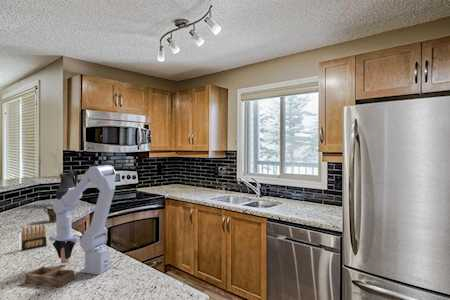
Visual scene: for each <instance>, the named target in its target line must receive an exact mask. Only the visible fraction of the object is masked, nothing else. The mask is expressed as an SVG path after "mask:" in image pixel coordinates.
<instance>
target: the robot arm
mask: <svg viewBox="0 0 450 300" xmlns="http://www.w3.org/2000/svg"><path fill="white" fill-rule="evenodd" d="M116 176H117V172H116V170H115V168H114V167H113V166H112V165H111V164H105V165H97V166H95V165H94V166H90V167H89V168H88V170H85V175H84V176H83V177H82V178H81V180H80V181H79V182H77V184H76V187H73V188H69V189H68V192H67V193H66V194H65V195H64V196H62V198H61V199H60V200H58V199H56V200H55V201H54V202H53V204H52V206H53V210H54V212H55V213H56V222H55V224H56V234H52V235H49V236H48V241H54V242H53V243H52V246H53V247H54V249H55V251H56V253H57V256H58V259H61V248H64V250H65V258H66V259H68V258H69V259H71V256H72V252H73V250H74V247H75V245H76V244H78V243H79V246H80V247H81V249H82V250H83V252H84V268H83V269H81V270H80V271H79V272H80V273H82V274H84V273H85V274H92V275H101V274H103V273H104V272H106V271H107V270H109V269H111V268H112V265H111V253H110V250H109V249H106V248H104V247H105V244H106V243H107V241H108V231H109V230H108V228H106V227H105V226H106V223H107V219H108V216H109V213H110V209H111V205H112V202H113V198H114V195H115V191H116V182H115V179H116ZM92 184H93V186H95V187H96V189H97V190H98V191H99V193H98V197H97V200H96V205H95V207H94V211H93V215H92V218H91V222H90V225H89V227H88V228H87V229H86V230H85V231H83V233H84V235H83V237H82V238H81V239H80V237H76V236H73V234H72V233H73V232H72V231H73V230H72V215H73V211H74V208H75V204H77V202H78V201H79V200H80V199H81V198H82V197H83V192H84V191H86V190H87V189H88V187H90V186H91V185H92Z"/></svg>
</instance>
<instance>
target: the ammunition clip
mask: <svg viewBox="0 0 450 300" xmlns="http://www.w3.org/2000/svg"><path fill="white" fill-rule="evenodd" d="M21 230H22V231H21V251H22V252H24V251H29V250H34V249H35V250H36V249H38V248H43V247H44V248H45V247H47V231H46V224H45V223H44V222H43V223H42V224H41V223H39V224H38V225H37V224H35V225H34V226H33V224H31V226H30V227H29V225H27V226H26V228H25V226H22V229H21Z"/></svg>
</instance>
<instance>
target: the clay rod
mask: <svg viewBox="0 0 450 300" xmlns="http://www.w3.org/2000/svg"><path fill="white" fill-rule="evenodd" d="M69 259H70V258H68V259H66V258H65V250H64V248H61V258H60V263H61V264H68V263H69V262H70V260H69Z"/></svg>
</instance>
